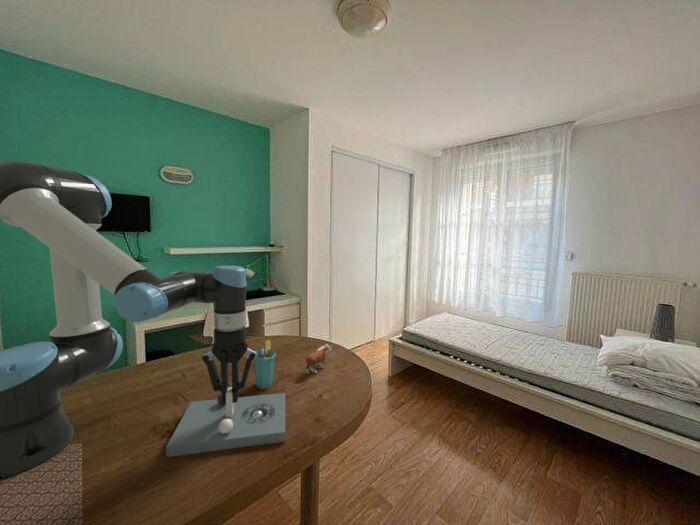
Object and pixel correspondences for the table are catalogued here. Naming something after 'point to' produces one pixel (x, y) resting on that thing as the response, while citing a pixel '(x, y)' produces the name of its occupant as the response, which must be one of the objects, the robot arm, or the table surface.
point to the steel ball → (257, 414)
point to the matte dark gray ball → (220, 399)
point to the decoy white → (225, 426)
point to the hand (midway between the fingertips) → (230, 413)
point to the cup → (264, 366)
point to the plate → (205, 416)
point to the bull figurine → (317, 358)
